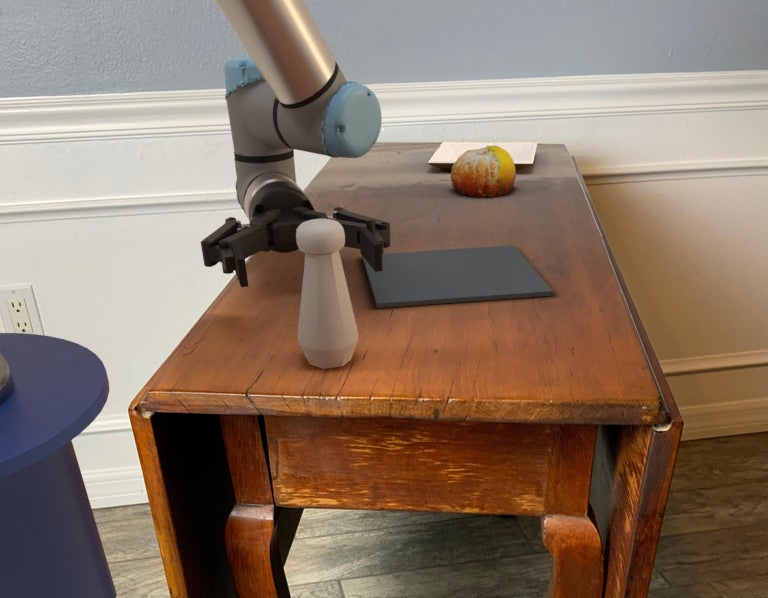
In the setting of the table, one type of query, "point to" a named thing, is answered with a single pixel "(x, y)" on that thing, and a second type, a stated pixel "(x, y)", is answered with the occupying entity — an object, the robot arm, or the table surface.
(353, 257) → the table surface
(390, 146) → the table surface
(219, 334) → the table surface
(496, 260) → the center mat
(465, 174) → the fruit
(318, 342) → the salt shaker
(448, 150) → the plate
